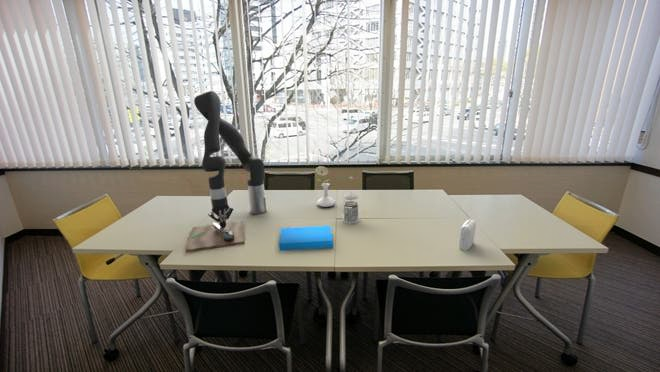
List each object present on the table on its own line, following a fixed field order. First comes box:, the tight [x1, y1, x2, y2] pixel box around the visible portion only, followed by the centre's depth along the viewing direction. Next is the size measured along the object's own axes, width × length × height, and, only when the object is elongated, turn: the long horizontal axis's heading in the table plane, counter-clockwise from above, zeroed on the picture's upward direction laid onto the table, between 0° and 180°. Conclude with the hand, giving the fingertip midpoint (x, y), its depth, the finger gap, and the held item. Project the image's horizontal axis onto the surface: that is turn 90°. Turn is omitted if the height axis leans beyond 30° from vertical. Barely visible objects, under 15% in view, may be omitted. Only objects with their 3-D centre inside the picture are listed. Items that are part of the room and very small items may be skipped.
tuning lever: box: [212, 222, 235, 242], centre depth 154 cm, size 20×5×3 cm, turn 42°
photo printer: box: [458, 219, 477, 251], centre depth 140 cm, size 10×4×12 cm, turn 140°
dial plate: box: [185, 220, 246, 254], centre depth 155 cm, size 26×25×2 cm
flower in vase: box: [315, 165, 336, 208], centre depth 190 cm, size 13×11×25 cm
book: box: [278, 225, 334, 252], centre depth 149 cm, size 17×4×25 cm
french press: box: [341, 176, 361, 224], centre depth 168 cm, size 10×12×25 cm
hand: (223, 227), depth 158 cm, fingers closed
